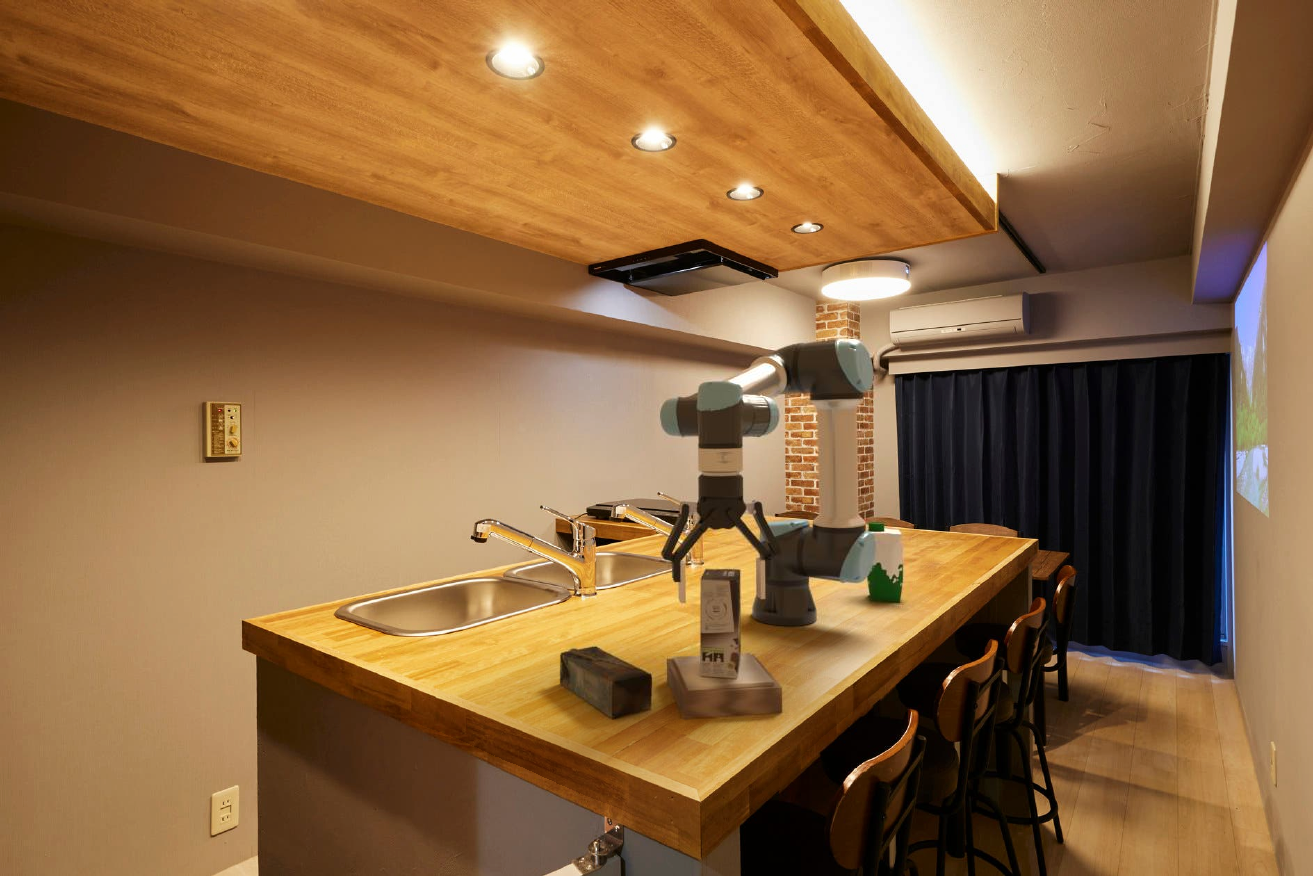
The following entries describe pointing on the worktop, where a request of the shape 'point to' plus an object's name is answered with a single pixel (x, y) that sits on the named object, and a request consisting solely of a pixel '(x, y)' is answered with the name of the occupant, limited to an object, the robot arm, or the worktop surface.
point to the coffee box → (720, 623)
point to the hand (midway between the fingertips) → (721, 599)
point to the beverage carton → (606, 681)
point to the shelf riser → (723, 689)
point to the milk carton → (886, 564)
